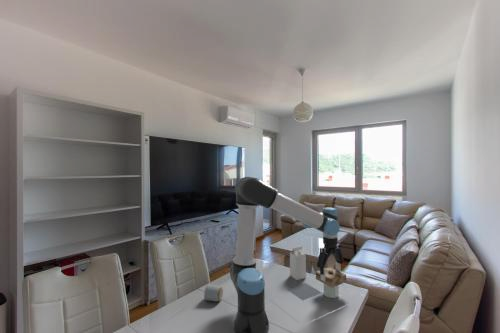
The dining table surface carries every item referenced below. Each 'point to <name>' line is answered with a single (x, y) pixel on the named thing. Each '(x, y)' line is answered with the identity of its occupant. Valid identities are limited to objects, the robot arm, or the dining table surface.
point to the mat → (304, 291)
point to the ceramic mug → (213, 293)
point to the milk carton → (298, 263)
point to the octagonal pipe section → (331, 291)
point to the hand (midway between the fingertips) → (330, 277)
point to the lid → (332, 277)
